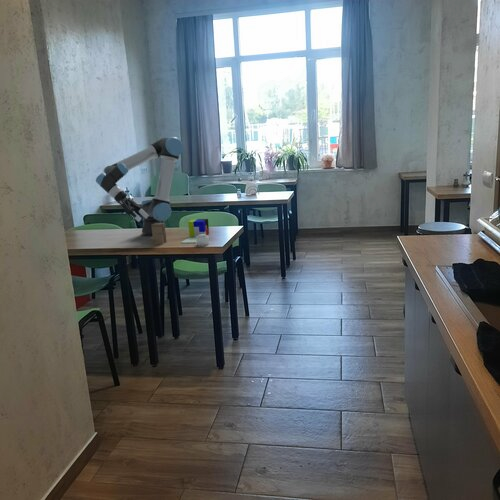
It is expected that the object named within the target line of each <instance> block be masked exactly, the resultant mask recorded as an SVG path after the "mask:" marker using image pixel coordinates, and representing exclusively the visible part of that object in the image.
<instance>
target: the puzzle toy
mask: <svg viewBox="0 0 500 500" xmlns="http://www.w3.org/2000/svg"><path fill="white" fill-rule="evenodd" d="M187 222H188V224H187V225H188V233H189V234H188V235H189V237H196V236H198V235H200V234H206V235H208V236H209V234H210V228H209V227H210V225H209V218H193V219H192V220H189V221H187Z"/></svg>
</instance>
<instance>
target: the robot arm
mask: <svg viewBox="0 0 500 500" xmlns="http://www.w3.org/2000/svg"><path fill="white" fill-rule="evenodd" d="M183 152H184V144H183V142H182V140H181V139H179V138H178V137H176V136H170V137H163V138H159V139H158V140H156V141H155V142H154V143H151V144H149V145H148V147H147V148H144V149H142V150H140V151H137V152H136V153H134V154H132V155H130V156H128V157H126V158H123V159H122V160H119V161H118V162H115V163H113V164H111V165H107V166H105V167H104V168H103V172H101V173H100V174H99V175H97V177H96V178H95V182H96V184H97V185H99V187H100V188H102V189H103V190H104V191H105V192H106V193H107V194H108V195H109V197H111V198H112V199H114V201H115V202H116V203H117V204H119V205H121V207H122V208H123V210H124V211H125V212H126V214H127V215H128V216H131V217H133V218H134V219H135V221H137V222H138V223H140V222H141V220H143V221H142V222H143V223H142V230H141V235H142V236H152V226H151V225H152V224H154V223H162V222H163V221H167V220H168V219H169V218H170V217H171V214H172V208H171V200H170V198H169V197H170V193H171V189H172V182H173V176H174V172H175V166H176V163H177V162H178V161H179V158H180V155H181V154H182V153H183ZM159 158H161V163H160V168H159V169H160V170H159V174H158V180H157V186H156V192H155V196H153V197H152V199H146V200H145V199H144V200H142V201H141V205H140V204H139V203H137V202H136V201H134V200H133V199H131V198H130V197H127V196H128V194H127V192H125V190H123V189H122V188H121V187H120V186H119V185H118V184H117V182H119V181H120V180H121V179H122V178H123V177H125V176H126V175H127V174H128V173H129V171H130V170H132V169H135V168H136V167H138V166H141V165H143V164H144V163H147V162H149V161H151V160H153V159H159ZM133 209H135V210H136V211H138V213H139V214H140V215H141V216H142V217H141V216H140V215H139V214H137V213H136V212H135V210H133Z"/></svg>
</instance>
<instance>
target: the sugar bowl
mask: <svg viewBox="0 0 500 500" xmlns="http://www.w3.org/2000/svg"><path fill="white" fill-rule="evenodd" d="M208 237H209V234H208V235H206V234H200V235H198V236H196V242H197V243H196V246H197V247H204V246H205V245H206V246H208V244H210V243H209V239H208Z"/></svg>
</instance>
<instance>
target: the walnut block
mask: <svg viewBox="0 0 500 500" xmlns="http://www.w3.org/2000/svg"><path fill="white" fill-rule="evenodd" d="M151 226H152V235H151V236H152V241H153V242H152V244H153V245H164V244H166V243H167V233H166V225H165V222H161V223H154V224H152V225H151Z"/></svg>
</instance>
